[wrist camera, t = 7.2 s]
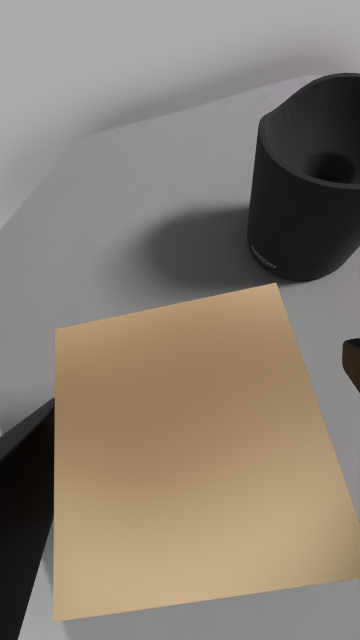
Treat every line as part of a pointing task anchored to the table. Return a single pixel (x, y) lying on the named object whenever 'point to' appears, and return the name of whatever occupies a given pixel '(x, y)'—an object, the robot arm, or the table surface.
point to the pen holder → (308, 181)
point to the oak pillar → (192, 460)
